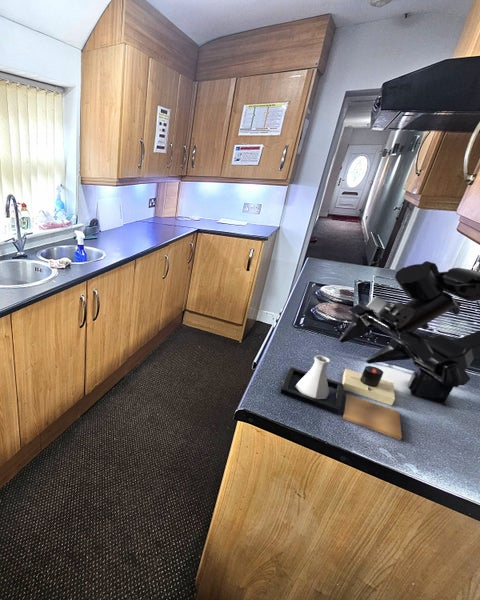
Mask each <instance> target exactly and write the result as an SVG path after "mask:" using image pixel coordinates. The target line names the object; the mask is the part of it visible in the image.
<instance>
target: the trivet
mask: <svg viewBox="0 0 480 600" xmlns="http://www.w3.org/2000/svg"><path fill="white" fill-rule="evenodd" d="M400 414H401V413H400V411H398V410H397V409H396V410H395V409H393V408H389V407H386V406H383V405H381V404H378V403H374V402H373V401H369V400H366V399H362V398H360V397H357V396H353V395H351V394H348V393H346V394H345V397H344V406H343V413H342V415H343V416H342V419H343V420H345V421H348V422H351V423H354V424H356V425H358V426H361V427H364V428H366V429H369V430H371V431H374V432H377V433H380V434H383V435H385V436H388V437H391V438H394V439H395V440H399V441H401V440H402V438H403V437H402V436H403V435H402V426H401V424H402V423H401V416H400Z"/></svg>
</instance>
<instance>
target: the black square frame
mask: <svg viewBox="0 0 480 600" xmlns="http://www.w3.org/2000/svg"><path fill="white" fill-rule="evenodd" d="M308 372H309V371H304V370H302V369H298V368H295V367H293V366H290V367H289V368H288V370H287V373H286V375H285V378H284V381H283V383H282V385H281V389H280V394H281V395H284V396H287V397H289V398H292V399H295V400H297V401H300V402H302V403H305V404H308V405H311V406H313V407H316V408H319V409H321V410H324V411H326V412H329V413H332V414H335V415H339V413H340V411H341V409H342V404H343V397H344V386H343V384H342V382H338V381H335V380H332V379H329V378H327V383H328V388H332V389H335V397H334V403H333V404H332V403H330V402H326V401H324V400H322V399H316V398H313V397H310V396H307V395H305V394H302V393H301V392H300V391H296V390H293V389H290V388H289V385H290V383H291V380H292V377H293V376H297V377H298V378H301V379H302V378H303V377H304V376H305V375H306V374H307V373H308Z"/></svg>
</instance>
